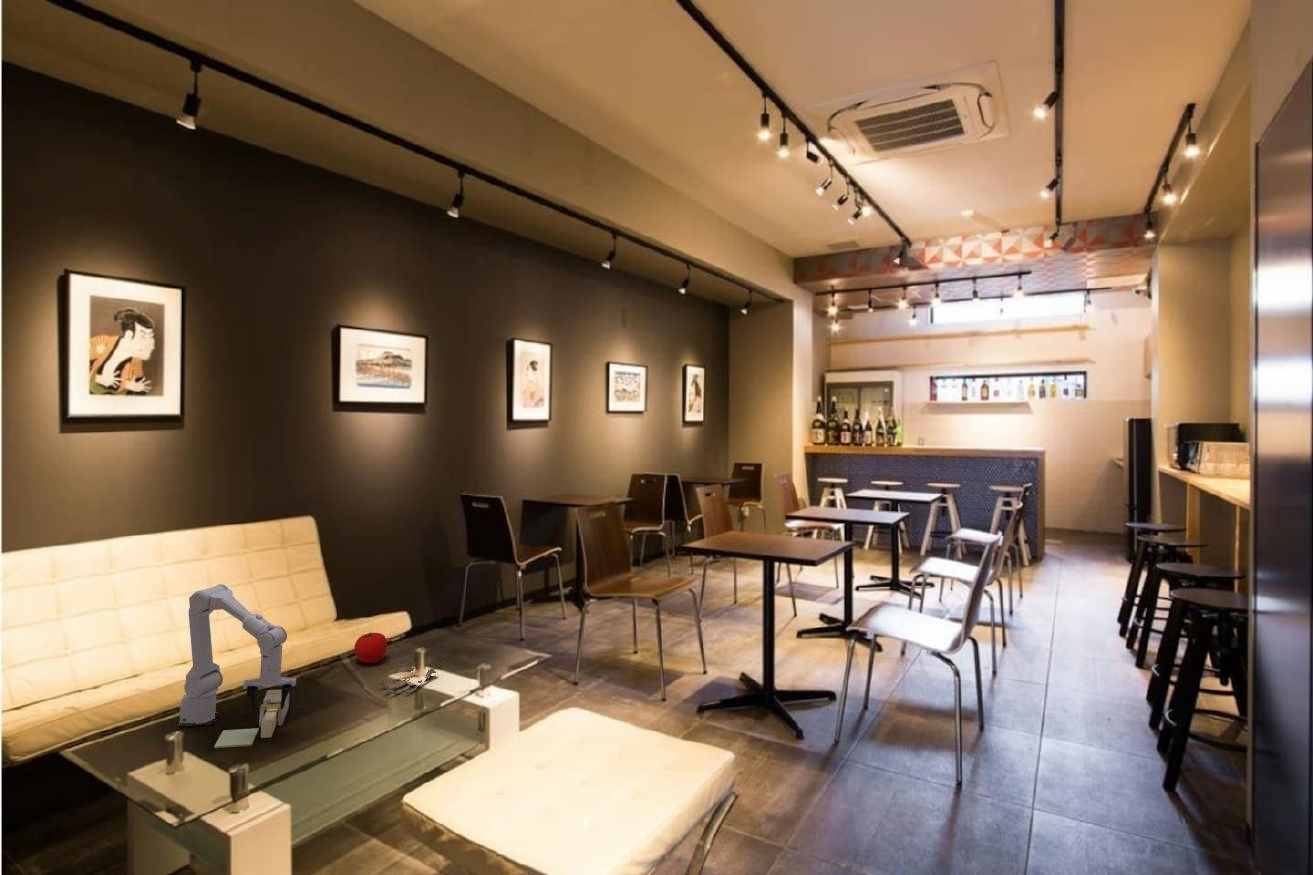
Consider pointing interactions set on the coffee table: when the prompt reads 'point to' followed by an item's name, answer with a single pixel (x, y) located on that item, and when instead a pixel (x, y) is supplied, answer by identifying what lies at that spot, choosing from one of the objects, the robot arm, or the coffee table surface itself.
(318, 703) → the coffee table surface
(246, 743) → the pad
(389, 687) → the skeleton model
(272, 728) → the beige rectangular block
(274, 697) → the frame
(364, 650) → the tomato
